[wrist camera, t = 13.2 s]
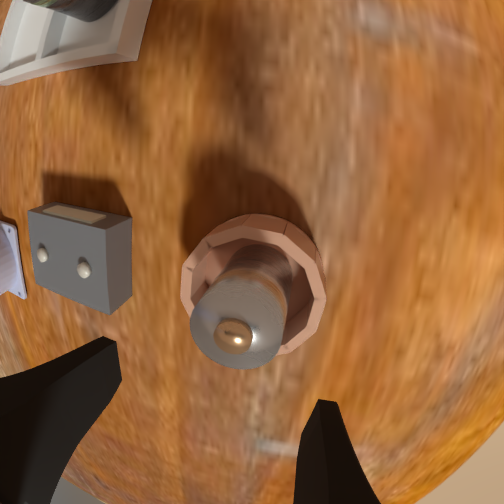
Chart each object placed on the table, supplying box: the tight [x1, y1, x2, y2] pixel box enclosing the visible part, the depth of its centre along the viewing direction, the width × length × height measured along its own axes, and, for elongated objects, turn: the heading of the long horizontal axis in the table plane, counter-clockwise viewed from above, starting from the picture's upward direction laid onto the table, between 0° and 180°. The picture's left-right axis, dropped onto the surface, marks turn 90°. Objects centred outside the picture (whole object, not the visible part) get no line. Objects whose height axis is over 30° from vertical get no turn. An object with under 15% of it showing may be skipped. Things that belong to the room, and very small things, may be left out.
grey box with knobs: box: [28, 202, 132, 315], centre depth 19 cm, size 8×6×3 cm
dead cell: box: [190, 244, 293, 369], centre depth 15 cm, size 4×4×6 cm
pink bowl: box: [180, 213, 327, 355], centre depth 17 cm, size 8×8×3 cm
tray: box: [0, 0, 152, 85], centre depth 13 cm, size 16×11×2 cm
